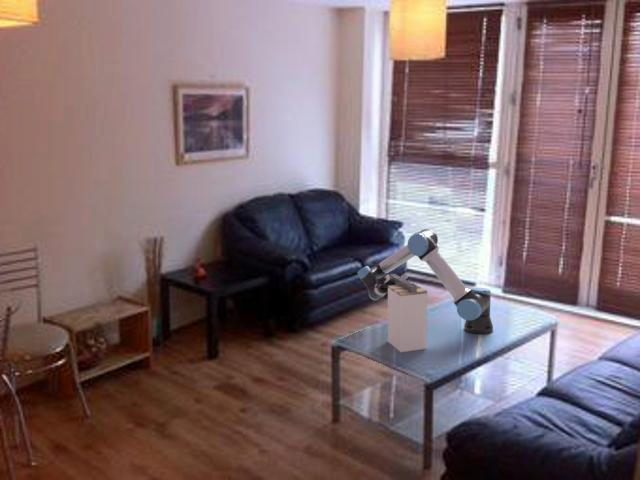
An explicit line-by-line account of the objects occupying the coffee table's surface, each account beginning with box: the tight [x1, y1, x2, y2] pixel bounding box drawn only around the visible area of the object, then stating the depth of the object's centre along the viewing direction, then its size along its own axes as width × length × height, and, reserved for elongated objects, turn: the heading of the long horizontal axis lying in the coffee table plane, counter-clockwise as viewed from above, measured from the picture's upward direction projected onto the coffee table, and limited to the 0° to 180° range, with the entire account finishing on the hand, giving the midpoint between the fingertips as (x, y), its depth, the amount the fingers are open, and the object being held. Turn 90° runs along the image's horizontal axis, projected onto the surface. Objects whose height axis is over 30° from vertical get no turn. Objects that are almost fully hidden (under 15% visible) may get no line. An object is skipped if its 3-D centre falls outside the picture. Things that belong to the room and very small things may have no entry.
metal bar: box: [389, 273, 418, 293], centre depth 324 cm, size 26×3×3 cm, turn 17°
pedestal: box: [387, 282, 428, 353], centre depth 323 cm, size 16×14×30 cm
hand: (397, 275), depth 329 cm, fingers open, 9 cm apart
